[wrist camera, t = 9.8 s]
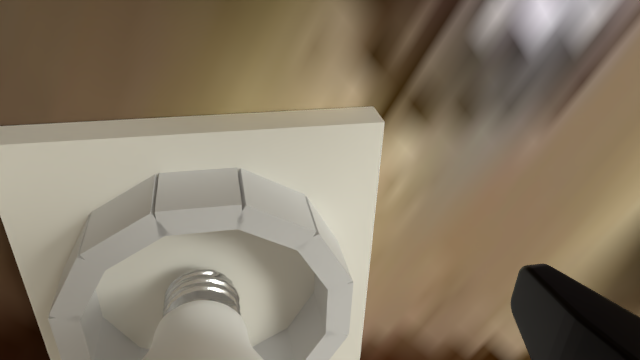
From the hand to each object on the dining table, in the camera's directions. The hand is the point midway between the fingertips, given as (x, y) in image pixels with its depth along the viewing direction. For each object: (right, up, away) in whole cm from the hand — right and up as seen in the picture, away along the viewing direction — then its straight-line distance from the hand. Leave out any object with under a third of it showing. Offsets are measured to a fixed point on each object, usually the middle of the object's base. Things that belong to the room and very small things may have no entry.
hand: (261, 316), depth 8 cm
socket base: (-4, -1, +15) cm, 15 cm away
